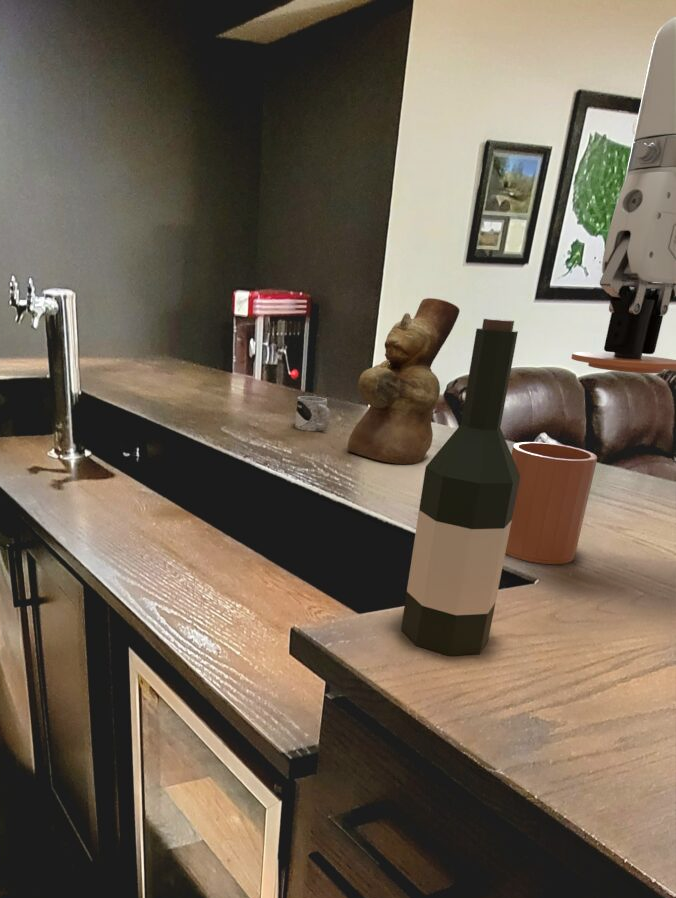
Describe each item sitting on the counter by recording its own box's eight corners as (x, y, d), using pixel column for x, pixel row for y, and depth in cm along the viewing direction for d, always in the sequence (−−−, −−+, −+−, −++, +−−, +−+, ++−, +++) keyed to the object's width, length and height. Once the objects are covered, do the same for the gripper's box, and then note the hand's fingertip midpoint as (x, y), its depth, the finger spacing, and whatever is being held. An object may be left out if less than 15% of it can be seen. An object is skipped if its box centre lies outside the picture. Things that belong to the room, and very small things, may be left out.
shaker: (554, 539, 100) (575, 444, 96) (587, 566, 91) (612, 463, 87) (484, 534, 100) (502, 439, 96) (510, 562, 91) (530, 458, 86)
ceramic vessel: (331, 449, 144) (348, 293, 135) (402, 440, 157) (423, 296, 147) (392, 468, 132) (415, 298, 123) (464, 457, 145) (490, 302, 136)
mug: (289, 425, 165) (291, 396, 163) (313, 424, 168) (316, 395, 166) (314, 434, 157) (317, 404, 155) (339, 433, 160) (342, 403, 158)
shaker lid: (648, 365, 83) (663, 300, 80) (705, 378, 72) (725, 303, 70) (554, 360, 83) (566, 295, 80) (598, 372, 72) (613, 297, 70)
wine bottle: (437, 609, 76) (487, 316, 67) (506, 643, 70) (571, 324, 60) (383, 627, 72) (427, 315, 62) (451, 665, 65) (513, 323, 56)
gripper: (659, 147, 64) (613, 357, 70) (755, 168, 72) (707, 356, 78) (584, 156, 70) (548, 349, 76) (680, 175, 78) (640, 349, 84)
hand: (629, 351), depth 77 cm, fingers closed on shaker lid, 2 cm apart
